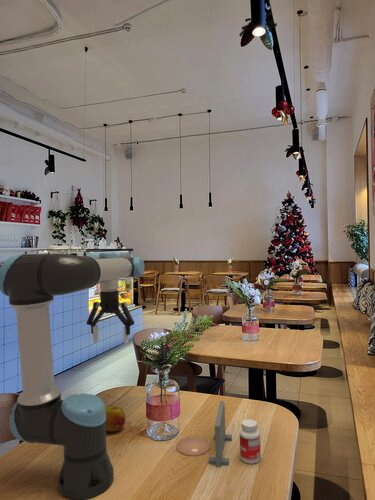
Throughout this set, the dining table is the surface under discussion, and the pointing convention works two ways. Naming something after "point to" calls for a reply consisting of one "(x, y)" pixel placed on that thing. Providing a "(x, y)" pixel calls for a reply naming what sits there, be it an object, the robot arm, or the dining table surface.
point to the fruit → (114, 418)
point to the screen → (220, 438)
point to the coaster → (193, 446)
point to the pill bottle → (250, 442)
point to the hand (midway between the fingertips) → (110, 342)
